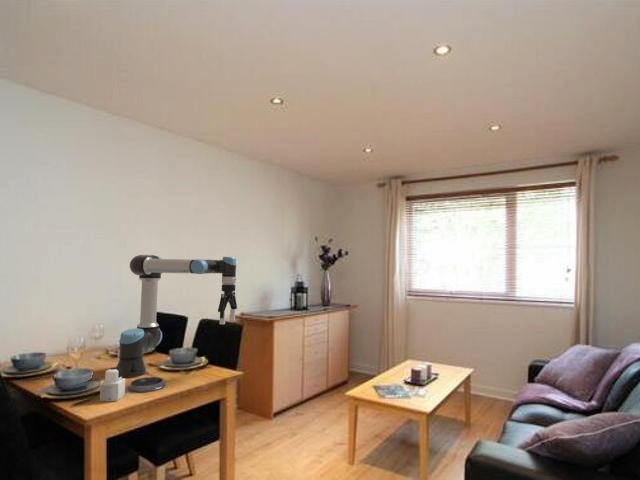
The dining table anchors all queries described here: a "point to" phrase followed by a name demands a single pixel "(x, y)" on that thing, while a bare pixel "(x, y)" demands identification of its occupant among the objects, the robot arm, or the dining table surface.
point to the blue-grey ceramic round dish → (147, 384)
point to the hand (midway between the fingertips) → (227, 322)
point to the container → (112, 385)
